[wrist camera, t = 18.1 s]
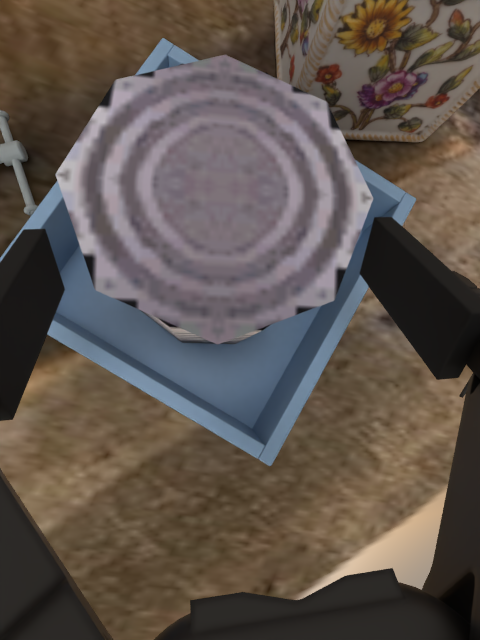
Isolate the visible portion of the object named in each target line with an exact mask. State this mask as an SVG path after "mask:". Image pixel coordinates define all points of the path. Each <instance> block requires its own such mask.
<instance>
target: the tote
mask: <svg viewBox="0 0 480 640" xmlns="http://www.w3.org/2000/svg"><path fill="white" fill-rule="evenodd" d="M196 61H199V60H197V59H196V58H194V57H193V56H191V55H190V54H188V53H186V52H185V51H183V50H182V49H180V48H179V47H177V46H174V45H173V44H172V43H170V42H169V41H167V40H166V39H164V38H162V40H161V41H160V42H159V44H158V45H157V46H156V48H155V49H154V50H153V52H152V53H151V54H150V56H149V57H148V59H147V60H146V61H145V63H144V64H143V65H142V67H141V68H140V69H139V71H138V72H137V73H136V75H139V74H143V73H148V72H152V71H156V70H161V69H165V68H169V67H174V66H178V65H180V64H187V63H191V62H196ZM355 161H356V160H355ZM356 163H357V166H358V168H359V170H360V172H361V174H362V176H363V178H364V180H365V182H366V184H367V186H368V188H369V190H370V192H371V194H372V197H373V201H372V203H371V206H370V209H369V211H368V214H367V217H366V219H365V222H364V224H363V227H362V230H361V232H360V235H359V238H358V240H357V243H356V246H355V248H354V251H353V253H352V256H351V259H350V261H349V264H348V267H347V269H346V272H345V274H344V277H343V280H342V282H341V285H340V288H339V290H338V293H337V295H336V298H335V301H332V302H329V303H327V304H324V305H321V306H319V307H316V308H313V309H311V310H308V311H305V312H303V313H300V314H297V315H295V316H292V317H289V318H287V319H284V320H282V321H279V322H276V323H274V324H271V325H270V326H268V327H267V328H265V329H264V330H262V331H260V332H258V333H256V334H254V335H252V336H250V337H248V338H246V339H244V340H242V341H240V342H238V343H236V344H218V345H217V344H208V343H182V342H181V341H179V340H178V339H177V338H175V337H174V336H173V335H172V334H170V333H169V332H168V331H166V330H165V329H164V328H162V327H161V326H160V325H159V324H157V323H156V322H155V321H153V320H152V319H151V318H150V317H148V316H147V315H146V314H144V313H143V312H142V311H140V310H139V309H137V308H134V307H132V306H130V305H128V304H125V303H123V302H121V301H119V300H116V299H114V298H112V297H110V296H107V295H105V294H103V293H101V292H98V291H96V290H95V289H94V286H93V283H92V280H91V277H90V274H89V271H88V268H87V265H86V262H85V259H84V256H83V253H82V251H81V248H80V245H79V242H78V239H77V236H76V233H75V230H74V227H73V224H72V221H71V218H70V215H69V213H68V210H67V207H66V204H65V201H64V198H63V195H62V192H61V189H60V186H59V183H58V180H57V182H56V183H55V185H54V186H53V187H52V189H51V190H50V191H49V193H48V194H47V195H46V197H45V198H44V199H43V201H42V202H41V203H40V205H39V206H38V208H37V209H36V210H35V212H34V213H33V214H32V216H31V217H30V218H29V220H28V221H27V222H26V224H25V225H24V227H23V228H22V229H21V231H20V232H19V233H18V235H17V236H16V237H15V239H14V240H13V241H12V243H11V244H10V245H9V247H8V248H7V250H6V251H5V252H4V254H3V255H2V256H1V258H0V262H1V261H2V259H3V258H4V256H5V255H6V254H7V252H8V251H9V249H10V248H11V247H12V245H13V244H14V242H15V241H16V239H17V238H18V237H19V235H20V234H21V232H22V231H23V230H24V229H46V232H47V235H48V238H49V242H50V245H51V248H52V251H53V254H54V257H55V260H56V263H57V266H58V269H59V272H60V275H61V278H62V282H63V285H64V288H65V291H64V293H63V296H62V298H61V301H60V303H59V306H58V308H57V311H56V313H55V316H54V318H53V321H52V323H51V326H50V328H49V331H48V333H47V334H48V335H49V336H51V337H53V338H54V339H56V340H58V341H59V342H61V343H63V344H64V345H66V346H68V347H70V348H71V349H73V350H75V351H76V352H78V353H80V354H81V355H83V356H85V357H86V358H88V359H90V360H92V361H93V362H95V363H97V364H98V365H100V366H102V367H103V368H105V369H107V370H108V371H110V372H112V373H114V374H115V375H117V376H119V377H120V378H122V379H124V380H125V381H127V382H129V383H130V384H132V385H134V386H135V387H137V388H139V389H141V390H142V391H144V392H146V393H147V394H149V395H151V396H152V397H154V398H156V399H157V400H159V401H161V402H163V403H164V404H166V405H168V406H169V407H171V408H173V409H174V410H176V411H178V412H179V413H181V414H183V415H185V416H186V417H188V418H190V419H191V420H193V421H195V422H196V423H198V424H200V425H201V426H203V427H205V428H206V429H208V430H210V431H212V432H213V433H215V434H217V435H218V436H220V437H222V438H223V439H225V440H227V441H228V442H230V443H232V444H234V445H235V446H237V447H239V448H240V449H242V450H244V451H245V452H247V453H249V454H250V455H252V456H254V457H256V458H258V459H259V460H261V461H262V462H264V463H266V464H267V465H269V466H271V465H272V464H273V462H274V460H275V458H276V456H277V454H278V453H279V451H280V449H281V447H282V445H283V443H284V442H285V440H286V438H287V436H288V434H289V432H290V431H291V429H292V427H293V425H294V423H295V421H296V420H297V418H298V416H299V414H300V412H301V410H302V409H303V407H304V405H305V403H306V401H307V399H308V397H309V396H310V394H311V392H312V390H313V388H314V386H315V385H316V383H317V381H318V379H319V377H320V375H321V374H322V372H323V370H324V368H325V366H326V364H327V363H328V361H329V359H330V357H331V355H332V353H333V352H334V350H335V348H336V346H337V344H338V342H339V341H340V339H341V337H342V335H343V333H344V331H345V330H346V328H347V326H348V324H349V322H350V320H351V319H352V317H353V315H354V313H355V311H356V309H357V308H358V306H359V304H360V302H361V300H362V298H363V297H364V295H365V293H366V291H367V289H368V287H369V286H368V285H367V283H366V282H365V280H364V279H363V278H362V276H361V275H360V274H359V273H360V269H361V266H362V262H363V258H364V254H365V251H366V247H367V243H368V239H369V236H370V232H371V228H372V224H373V220H374V217H392V218H393V219H394V220H396V221H397V222H398V223H399V224H400V225H401V226H402V225H403V223H404V221H405V220H406V218H407V216H408V214H409V212H410V210H411V209H412V207H413V205H414V203H415V201H416V198H414V197H413V196H411V195H410V194H408V193H405V191H403V190H402V189H400V188H399V187H397V186H396V185H394V184H392V183H391V182H389V181H388V180H386V179H385V178H383V177H381V176H380V175H378V174H377V173H375V172H373V171H372V170H370V169H369V168H367V167H366V166H364V165H362V164H361V163H359V162H358V161H356Z"/></svg>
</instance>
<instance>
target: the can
mask: <svg viewBox="0 0 480 640" xmlns="http://www.w3.org/2000/svg"><path fill="white" fill-rule="evenodd" d="M56 177H57V180H58V183H59V186H60V189H61V192H62V195H63V198H64V201H65V204H66V207H67V210H68V213H69V215H70V218H71V221H72V224H73V227H74V230H75V233H76V236H77V239H78V242H79V245H80V248H81V251H82V253H83V256H84V259H85V262H86V265H87V268H88V271H89V274H90V277H91V280H92V283H93V286H94V289H95V290H96V291H98V292H101V293H103V294H105V295H107V296H110V297H112V298H114V299H116V300H119V301H121V302H123V303H125V304H128V305H130V306H132V307H134V308H137V309H139V310H140V311H142V312H143V313H144V314H146V315H147V316H148V317H150V318H151V319H152V320H153V321H155V322H156V323H157V324H159V325H160V326H161V327H162V328H164V329H165V330H166V331H168V332H169V333H170V334H172V335H173V336H174V337H175V338H177V339H178V340H179V341H181V342H182V343H208V344H217V345H218V344H236V343H238V342H240V341H242V340H244V339H246V338H248V337H250V336H252V335H254V334H256V333H258V332H260V331H262V330H264V329H265V328H267V327H268V326H270V325H271V324H274V323H276V322H279V321H282V320H284V319H287V318H289V317H292V316H295V315H297V314H300V313H303V312H305V311H308V310H311V309H313V308H316V307H319V306H321V305H324V304H327V303H329V302H332V301H335V298H336V295H337V293H338V290H339V288H340V285H341V282H342V280H343V277H344V274H345V272H346V269H347V267H348V264H349V261H350V259H351V256H352V253H353V251H354V248H355V246H356V243H357V240H358V238H359V235H360V232H361V230H362V227H363V224H364V222H365V219H366V217H367V214H368V211H369V209H370V206H371V203H372V201H373V197H372V194H371V192H370V190H369V188H368V186H367V184H366V182H365V180H364V178H363V176H362V174H361V172H360V170H359V168H358V166H357V163H356V161H355V159H354V157H353V155H352V153H351V151H350V149H349V147H348V145H347V143H346V141H345V139H344V137H343V134H342V132H341V130H340V128H339V126H338V124H337V122H336V120H335V118H334V116H333V114H332V112H331V110H330V108H329V105H328V103H327V102H326V101H324V100H322V99H320V98H317V97H315V96H313V95H311V94H309V93H307V92H305V91H302V90H300V89H298V88H296V87H294V86H292V85H289V84H287V83H285V82H283V81H281V80H279V79H277V78H274V77H272V76H270V75H269V74H268V73H264V72H261V71H259V70H257V69H255V68H253V67H251V66H249V65H246V64H244V63H242V62H240V61H238V60H236V59H233V58H231V57H229V56H227V55H222V56H218V57H213V58H209V59H204V60H200V61H196V62H191V63H187V64H180V65H178V66H174V67H169V68H165V69H161V70H156V71H152V72H148V73H143V74H139V75H135V76H130V77H126V78H121V79H117V80H115V81H114V83H113V84H112V86H111V88H110V89H109V91H108V92H107V94H106V96H105V97H104V99H103V100H102V102H101V103H100V105H99V107H98V108H97V110H96V111H95V113H94V114H93V116H92V118H91V119H90V121H89V122H88V124H87V125H86V127H85V129H84V130H83V132H82V133H81V135H80V137H79V138H78V140H77V141H76V143H75V144H74V146H73V148H72V149H71V151H70V152H69V154H68V155H67V157H66V159H65V160H64V162H63V163H62V165H61V166H60V168H59V170H58V171H57V173H56Z"/></svg>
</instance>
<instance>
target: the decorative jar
mask: <svg viewBox="0 0 480 640" xmlns="http://www.w3.org/2000/svg"><path fill="white" fill-rule="evenodd" d="M274 12H275V14H274V16H275V46H276V71H277V79H279V80H281V81H283V82H285V83H287V84H289V85H292V86H294V87H296V88H298V89H300V90H302V91H305V92H307V93H309V94H311V95H313V96H315V97H317V98H320V99H322V100H324V101H326V102H327V103H328V105H329V108H330V110H331V112H332V114H333V116H334V118H335V120H336V122H337V124H338V126H339V128H340V130H341V132H342V134H343V137H344V139H349V140H375V141H399V142H422V141H424V140H425V139H426V138H428V137H429V136H430V135H431V134H432V133H433V132H434V131H436V129H437V128H439V126H440V125H442V124H443V123H444V122H445V121H446V120H447V119H448V118H449V117H450V116H451V115H452V114H453V113H454V112H455V111H456V110H457V109H458V108H460V107H461V106H462V105H463V104H464V103H465V102H466V101H467V100H468V99H469V98H470V97H471V96H472V95H473V94H474V93H475V92H476V91H477V90H478V89H479V88H480V0H274Z"/></svg>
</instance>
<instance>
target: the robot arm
mask: <svg viewBox="0 0 480 640" xmlns="http://www.w3.org/2000/svg"><path fill="white" fill-rule="evenodd" d="M359 274H360V275H361V276H362V278H363V279H364V280H365V282H366V283H367V285H368V286H369V287H370V289H371V290H372V291H373V293H374V294H375V295H376V297H377V298H378V300H379V301H380V302H381V304H382V305H383V306H384V308H385V309H386V311H387V312H388V313H389V315H390V316H391V317H392V319H393V320H394V321H395V323H396V324H397V326H398V327H399V328H400V330H401V331H402V332H403V334H404V335H405V336H406V338H407V339H408V341H409V342H410V343H411V345H412V346H413V347H414V349H415V350H416V352H417V353H418V354H419V356H420V357H421V358H422V360H423V361H424V362H425V364H426V365H427V367H428V368H429V369H430V371H431V372H432V373H433V375H434V376H435V377H436V379H437V380H439V379H449V378H458V377H459V376H460V374H461V372H462V371H463V369H464V367H465V365H466V364H467V366H468V367H469V368H470V369H471V370H472V371H473V374H472V376H471V378H470V379H469V381H468V382H467V384H466V386H465V387H464V389H463V391H462V392H461V394H460V397H464V395H465V394H466V396H465V401H464V406H463V412H462V417H461V422H460V427H459V432H458V437H457V442H456V447H455V452H454V457H453V463H452V468H451V473H450V478H449V483H448V488H447V493H446V498H445V503H444V508H443V514H442V519H441V524H440V529H439V534H438V539H437V544H436V550H435V554H434V560H433V564H432V567H431V570H430V573H429V575H428V577H427V579H426V581H425V583H424V586H423V588H422V590H420V589H418V588H416V587H413V586H410V585H406V584H403V583H399V582H398V581H397V578H396V576H395V573H394V571H393V569H392V568H391V569H385V570H379V571H372V572H366V573H360V574H354V575H347V576H344V577H342V578H340V579H339V580H337V581H335V582H333V583H331V584H329V585H328V586H326V587H324V588H322V589H320V590H318V591H316V592H314V593H312V594H311V595H309V596H307V597H305V598H303V599H300V600H289V599H283V598H277V597H270V596H264V595H257V594H251V593H245V592H240V593H234V594H228V595H222V596H215V597H209V598H203V599H196V600H190V605H191V613H190V614H188V615H186V616H184V617H182V618H180V619H179V620H177V621H176V622H174V623H173V624H171V625H170V626H169V627H167V628H166V629H165V630H164V631H163V632H162V633H161V634H159V635H158V636H157V637H156V638H155V639H154V640H480V289H477V286H476V285H475V284H474V283H472V282H471V281H470V280H469V279H468V278H466V277H464V276H462V275H460V274H458V273H457V272H455V271H451V270H450V269H449V268H447V267H446V266H445V265H444V264H443V263H442V262H441V261H440V260H439V259H438V258H436V257H435V256H434V255H433V254H432V253H431V252H430V251H429V250H428V249H426V248H425V247H424V246H423V245H422V244H421V243H420V242H419V241H418V240H417V239H415V238H414V237H413V236H412V235H411V234H410V233H409V232H408V231H407V230H406V229H404V228H403V227H402V226H401V225H400V224H399V223H398V222H397V221H396V220H394V219H393V218H392V217H374V220H373V224H372V228H371V232H370V236H369V239H368V243H367V247H366V251H365V254H364V258H363V262H362V266H361V269H360V273H359ZM64 291H65V288H64V285H63V282H62V278H61V275H60V272H59V269H58V266H57V263H56V260H55V257H54V254H53V251H52V248H51V245H50V242H49V238H48V235H47V232H46V229H24V230H23V231H22V232H21V234H20V235H19V237H18V238H17V239H16V241H15V242H14V244H13V245H12V247H11V248H10V249H9V251H8V252H7V254H6V255H5V256H4V258H3V259H2V261H1V262H0V421H1V420H12V419H13V418H14V415H15V413H16V410H17V408H18V405H19V403H20V400H21V398H22V395H23V393H24V390H25V388H26V385H27V383H28V380H29V378H30V375H31V373H32V370H33V368H34V365H35V363H36V360H37V358H38V356H39V353H40V351H41V348H42V346H43V343H44V341H45V338H46V336H47V333H48V331H49V328H50V326H51V323H52V321H53V318H54V316H55V313H56V311H57V308H58V306H59V303H60V301H61V298H62V296H63V293H64ZM0 640H113V639H112V637H111V636H110V634H109V633H108V631H107V630H106V628H105V627H104V626H103V624H102V623H101V621H100V620H99V618H98V617H97V615H96V614H95V612H94V611H93V609H92V608H91V606H90V604H89V603H88V601H87V600H86V598H85V597H84V595H83V594H82V592H81V591H80V589H79V588H78V586H77V585H76V583H75V582H74V580H73V579H72V577H71V576H70V574H69V573H68V571H67V569H66V568H65V566H64V565H63V563H62V562H61V560H60V559H59V557H58V556H57V554H56V553H55V551H54V550H53V548H52V547H51V545H50V544H49V542H48V541H47V539H46V537H45V536H44V534H43V533H42V531H41V530H40V528H39V527H38V525H37V524H36V522H35V521H34V519H33V518H32V516H31V515H30V513H29V512H28V510H27V509H26V507H25V506H24V504H23V502H22V501H21V499H20V498H19V496H18V495H17V493H16V492H15V490H14V489H13V487H12V486H11V484H10V483H9V481H8V480H7V478H6V477H5V475H4V474H3V472H2V470H1V469H0Z"/></svg>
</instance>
